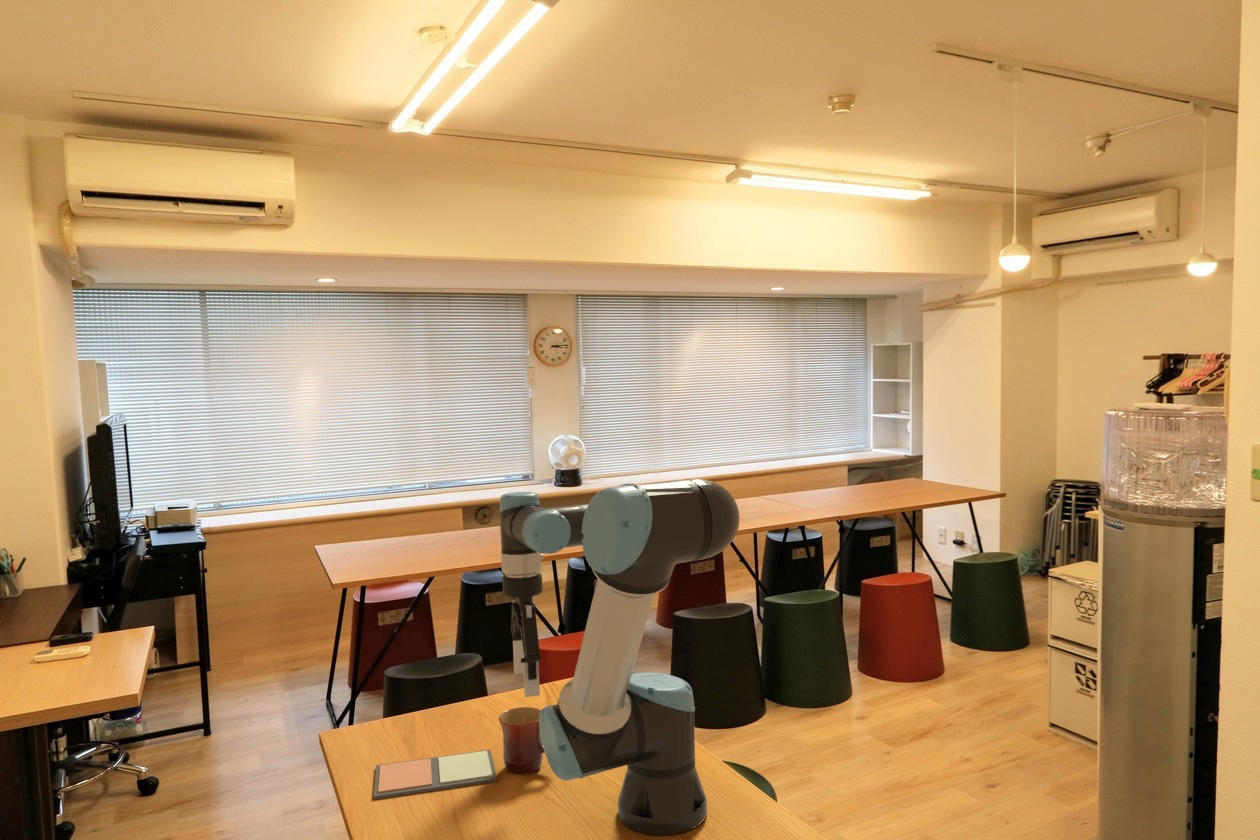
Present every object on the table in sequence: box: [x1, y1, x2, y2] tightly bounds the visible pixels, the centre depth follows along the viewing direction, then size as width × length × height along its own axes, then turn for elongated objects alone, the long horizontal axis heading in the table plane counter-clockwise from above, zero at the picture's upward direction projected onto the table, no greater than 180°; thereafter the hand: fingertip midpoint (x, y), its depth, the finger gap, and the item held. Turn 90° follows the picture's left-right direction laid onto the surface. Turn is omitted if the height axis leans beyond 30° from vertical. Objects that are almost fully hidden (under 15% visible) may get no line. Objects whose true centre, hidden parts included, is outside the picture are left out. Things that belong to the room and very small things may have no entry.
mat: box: [373, 749, 498, 800], centre depth 160 cm, size 13×22×1 cm, turn 105°
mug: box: [498, 706, 545, 776], centre depth 162 cm, size 12×9×10 cm
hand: (526, 683), depth 161 cm, fingers open, 13 cm apart
